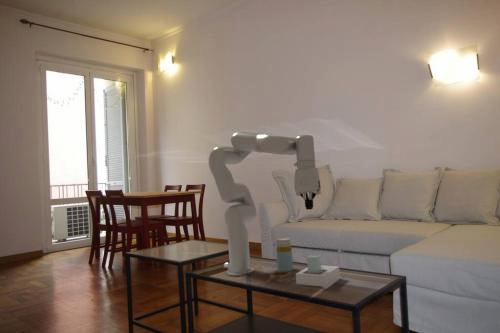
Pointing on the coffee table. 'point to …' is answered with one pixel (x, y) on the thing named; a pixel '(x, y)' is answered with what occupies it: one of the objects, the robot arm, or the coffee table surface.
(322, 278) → the panel
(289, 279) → the square wooden tray
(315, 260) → the plug
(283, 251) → the bottle
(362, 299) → the coffee table surface
